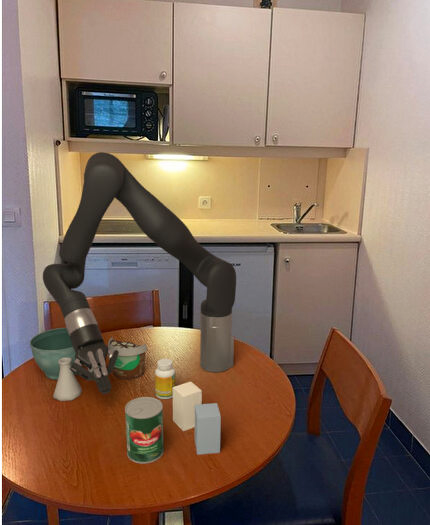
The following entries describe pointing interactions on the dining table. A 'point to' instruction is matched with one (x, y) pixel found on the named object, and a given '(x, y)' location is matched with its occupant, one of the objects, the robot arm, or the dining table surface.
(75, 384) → the flask
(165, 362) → the supplement bottle
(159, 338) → the dining table surface
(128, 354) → the food container
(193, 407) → the cream block
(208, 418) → the slate-blue block
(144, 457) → the canned tomato
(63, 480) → the dining table surface
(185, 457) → the dining table surface
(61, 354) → the flower pot
